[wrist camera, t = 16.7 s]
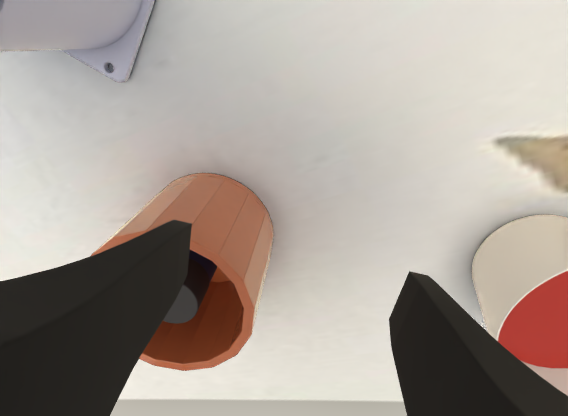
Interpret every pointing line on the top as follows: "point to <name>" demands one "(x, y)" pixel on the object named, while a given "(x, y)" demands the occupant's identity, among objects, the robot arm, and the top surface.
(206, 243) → the pen pot
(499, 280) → the candle
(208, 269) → the glue stick
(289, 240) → the top surface
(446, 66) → the top surface
